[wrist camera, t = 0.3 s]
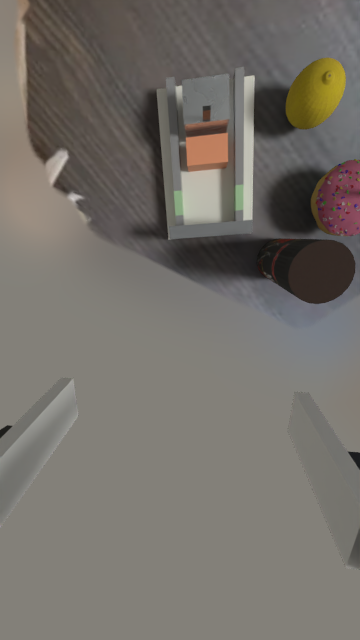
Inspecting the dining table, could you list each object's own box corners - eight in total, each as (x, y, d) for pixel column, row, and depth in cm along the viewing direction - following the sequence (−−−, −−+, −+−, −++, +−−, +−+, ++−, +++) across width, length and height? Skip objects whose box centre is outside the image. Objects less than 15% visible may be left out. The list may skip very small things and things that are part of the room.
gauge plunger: (185, 103, 32) (179, 65, 25) (225, 98, 31) (231, 58, 24) (186, 140, 33) (182, 114, 26) (225, 136, 32) (231, 108, 25)
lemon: (293, 77, 31) (322, 26, 23) (332, 99, 31) (373, 56, 24) (269, 126, 33) (289, 93, 25) (306, 147, 33) (336, 120, 26)
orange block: (187, 146, 33) (185, 137, 30) (225, 141, 33) (227, 132, 30) (188, 171, 34) (187, 165, 31) (226, 168, 34) (228, 161, 31)
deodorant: (249, 267, 39) (275, 285, 24) (271, 231, 37) (314, 227, 22) (282, 286, 39) (327, 314, 25) (306, 250, 37) (369, 259, 23)
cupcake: (365, 161, 33) (450, 122, 22) (366, 229, 35) (442, 225, 24) (297, 179, 34) (342, 150, 23) (302, 242, 37) (345, 245, 25)
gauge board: (158, 94, 33) (145, 57, 26) (252, 81, 31) (265, 38, 25) (169, 239, 38) (161, 239, 31) (250, 233, 37) (260, 232, 30)
